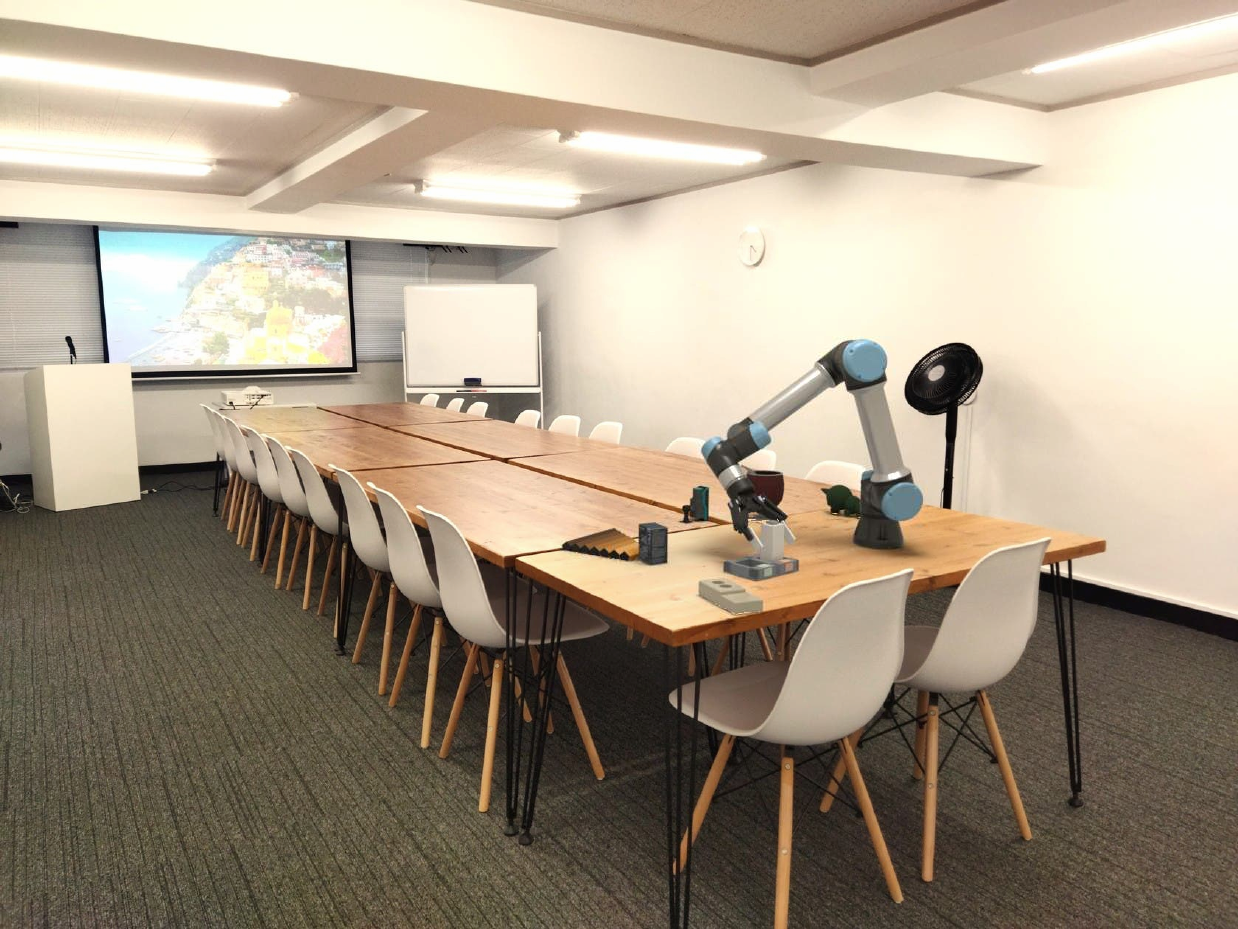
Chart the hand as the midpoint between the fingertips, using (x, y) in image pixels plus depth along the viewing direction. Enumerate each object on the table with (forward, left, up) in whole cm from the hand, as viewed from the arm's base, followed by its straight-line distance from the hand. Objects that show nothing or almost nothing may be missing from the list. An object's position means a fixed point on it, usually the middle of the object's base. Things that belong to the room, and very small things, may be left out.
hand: (776, 545), depth 234 cm
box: (+20, -29, -7) cm, 35 cm away
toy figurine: (-81, -34, -7) cm, 88 cm away
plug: (0, -2, -6) cm, 6 cm away
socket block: (+4, -2, -7) cm, 8 cm away
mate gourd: (-50, -50, -7) cm, 71 cm away
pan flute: (+16, -48, -8) cm, 51 cm away
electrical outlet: (+33, +13, -7) cm, 36 cm away
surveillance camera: (-30, -64, -7) cm, 71 cm away
